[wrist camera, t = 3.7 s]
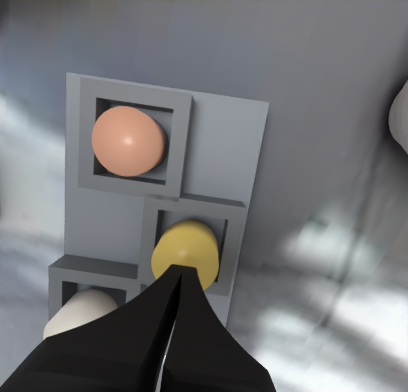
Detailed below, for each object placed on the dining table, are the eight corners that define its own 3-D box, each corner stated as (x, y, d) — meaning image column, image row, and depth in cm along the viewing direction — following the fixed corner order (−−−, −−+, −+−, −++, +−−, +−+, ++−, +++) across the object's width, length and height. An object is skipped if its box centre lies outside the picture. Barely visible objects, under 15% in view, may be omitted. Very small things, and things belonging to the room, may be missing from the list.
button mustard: (157, 268, 16) (148, 289, 13) (163, 215, 15) (154, 228, 12) (212, 276, 16) (213, 299, 13) (221, 223, 15) (223, 238, 12)
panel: (82, 314, 22) (47, 359, 18) (90, 85, 18) (45, 61, 13) (217, 334, 22) (219, 385, 18) (259, 110, 18) (277, 95, 13)
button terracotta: (109, 167, 16) (90, 171, 13) (112, 109, 15) (93, 101, 12) (164, 176, 16) (155, 180, 13) (170, 117, 15) (162, 111, 12)
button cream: (67, 330, 17) (43, 360, 15) (68, 285, 16) (43, 309, 14) (118, 337, 17) (102, 369, 15) (121, 293, 16) (105, 318, 14)
